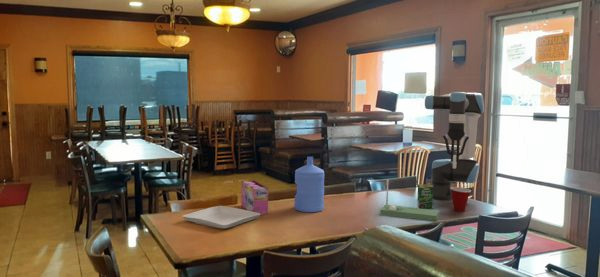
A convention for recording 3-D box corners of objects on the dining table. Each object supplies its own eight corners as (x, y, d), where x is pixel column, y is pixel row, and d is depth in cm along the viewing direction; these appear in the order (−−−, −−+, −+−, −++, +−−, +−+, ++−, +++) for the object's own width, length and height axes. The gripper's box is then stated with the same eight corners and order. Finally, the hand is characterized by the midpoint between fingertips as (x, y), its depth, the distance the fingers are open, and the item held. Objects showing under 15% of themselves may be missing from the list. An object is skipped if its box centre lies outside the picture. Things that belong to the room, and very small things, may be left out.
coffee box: (418, 208, 257) (419, 184, 256) (416, 207, 260) (417, 183, 259) (432, 208, 257) (433, 185, 256) (431, 207, 260) (432, 184, 259)
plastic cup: (471, 213, 248) (472, 191, 247) (450, 212, 250) (451, 189, 249) (468, 208, 259) (469, 187, 258) (448, 207, 261) (449, 186, 260)
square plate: (225, 233, 207) (225, 224, 206) (180, 223, 221) (180, 215, 221) (261, 220, 230) (262, 212, 229) (219, 211, 244) (219, 204, 244)
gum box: (240, 205, 258) (240, 180, 257) (253, 203, 261) (254, 179, 260) (253, 215, 236) (253, 188, 235) (268, 214, 240) (268, 187, 238)
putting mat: (385, 209, 254) (385, 204, 254) (439, 215, 243) (439, 210, 243) (380, 214, 243) (380, 209, 243) (436, 220, 232) (436, 215, 232)
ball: (392, 214, 247) (388, 207, 248) (398, 210, 246) (395, 203, 246) (390, 215, 244) (386, 208, 244) (397, 212, 242) (393, 205, 243)
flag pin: (386, 205, 253) (387, 179, 251) (387, 205, 252) (388, 179, 251) (384, 206, 249) (385, 180, 248) (386, 206, 249) (387, 180, 248)
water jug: (329, 209, 252) (330, 157, 249) (310, 214, 240) (311, 160, 238) (308, 204, 262) (308, 154, 260) (288, 209, 251) (289, 156, 248)
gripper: (442, 122, 240) (440, 168, 242) (469, 123, 235) (467, 170, 237) (444, 121, 247) (442, 166, 249) (470, 122, 242) (468, 168, 244)
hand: (454, 168), depth 243 cm, fingers closed
